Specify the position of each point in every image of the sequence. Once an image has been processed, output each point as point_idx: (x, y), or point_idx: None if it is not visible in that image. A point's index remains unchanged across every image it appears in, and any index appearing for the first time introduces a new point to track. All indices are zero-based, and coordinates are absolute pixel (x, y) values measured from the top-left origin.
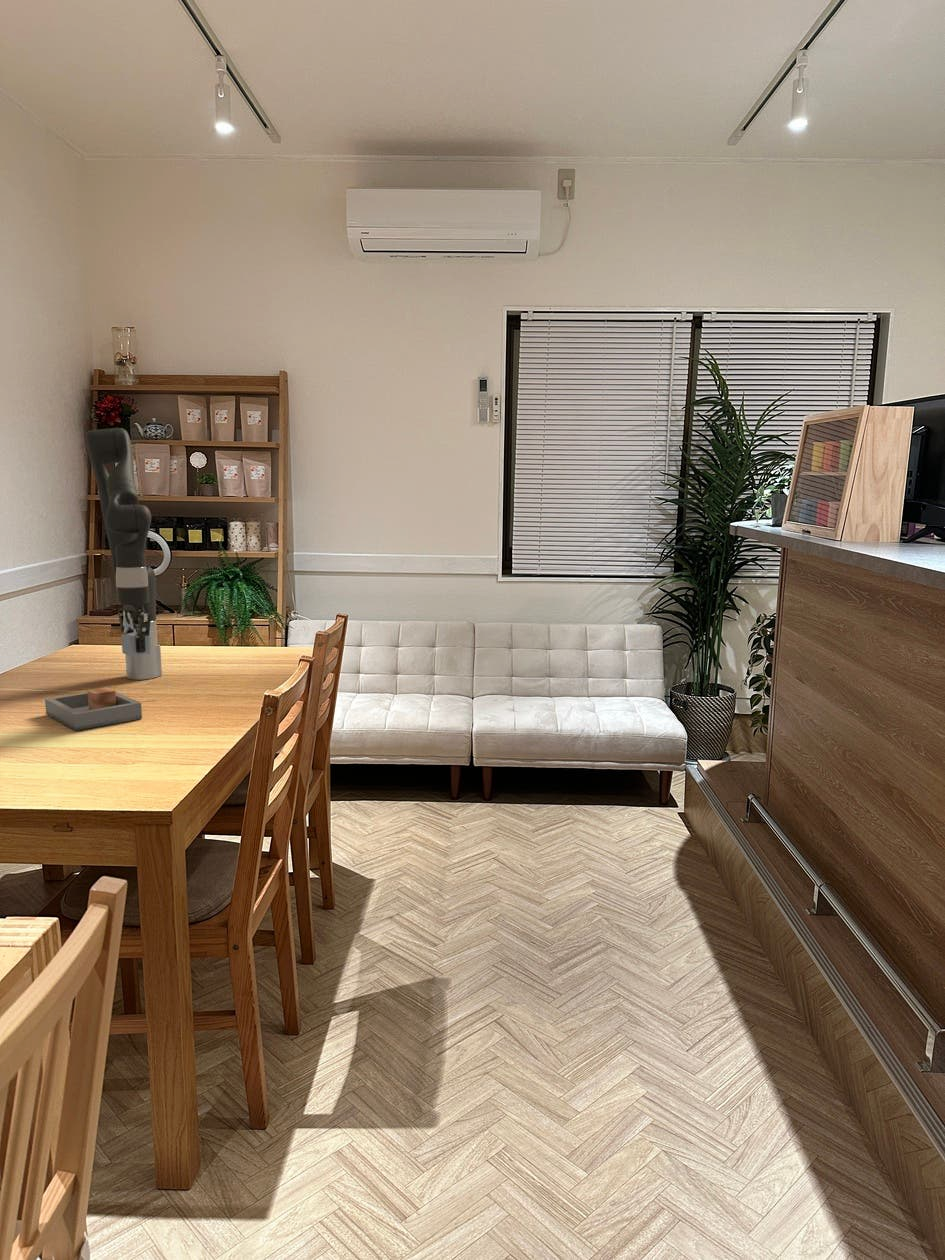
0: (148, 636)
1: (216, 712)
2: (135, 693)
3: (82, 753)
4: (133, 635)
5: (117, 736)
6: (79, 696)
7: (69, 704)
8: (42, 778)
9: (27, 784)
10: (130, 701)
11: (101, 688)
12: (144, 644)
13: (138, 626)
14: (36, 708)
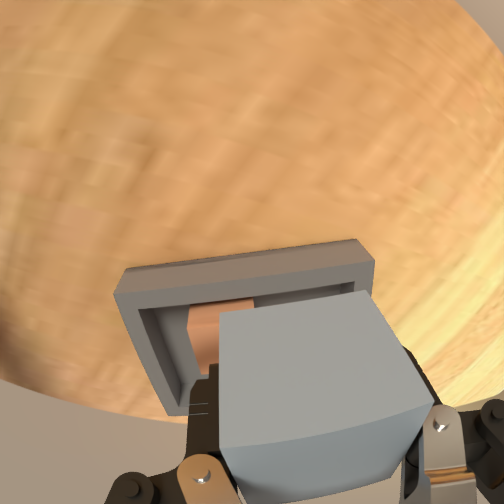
0: (422, 388)
1: (415, 47)
2: (34, 175)
3: (451, 357)
4: (381, 471)
5: (428, 309)
6: (160, 363)
7: (170, 369)
8: (475, 385)
9: (475, 393)
10: (335, 281)
11: (197, 344)
12: (423, 374)
13: (486, 495)
14: (108, 386)
